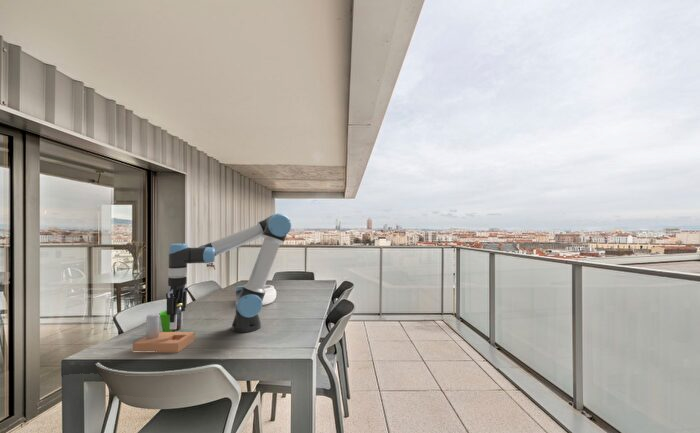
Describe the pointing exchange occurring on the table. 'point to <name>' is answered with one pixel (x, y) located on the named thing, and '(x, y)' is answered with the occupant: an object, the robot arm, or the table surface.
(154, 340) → the peach square-hole plate
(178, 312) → the pin
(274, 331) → the table surface
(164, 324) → the cup
